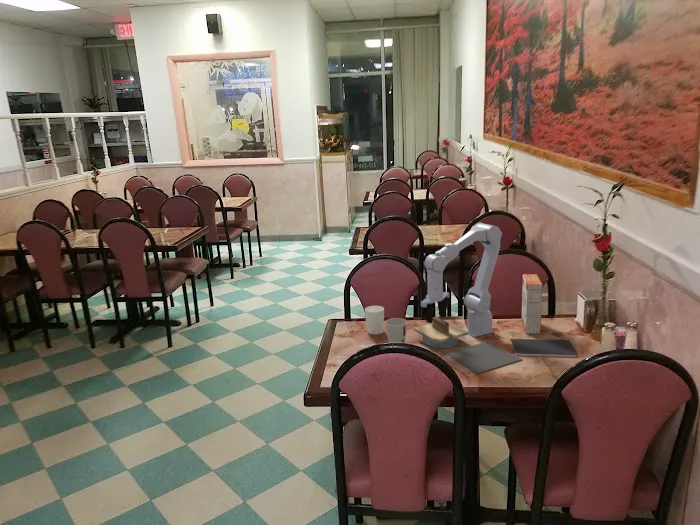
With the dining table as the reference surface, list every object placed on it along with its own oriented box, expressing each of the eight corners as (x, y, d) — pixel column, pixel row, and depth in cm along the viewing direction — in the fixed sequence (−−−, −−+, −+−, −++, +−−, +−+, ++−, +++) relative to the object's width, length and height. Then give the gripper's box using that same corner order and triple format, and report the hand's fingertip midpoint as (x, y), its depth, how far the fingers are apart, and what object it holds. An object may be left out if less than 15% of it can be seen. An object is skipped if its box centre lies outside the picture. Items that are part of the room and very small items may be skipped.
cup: (406, 350, 190) (405, 326, 188) (384, 350, 192) (384, 325, 189) (408, 342, 198) (407, 318, 195) (387, 341, 200) (386, 317, 197)
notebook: (568, 343, 191) (510, 342, 194) (569, 339, 190) (510, 338, 194) (577, 358, 178) (515, 356, 182) (578, 354, 178) (515, 352, 182)
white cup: (388, 329, 211) (387, 307, 208) (378, 336, 204) (378, 313, 202) (371, 326, 215) (371, 304, 212) (362, 333, 209) (361, 310, 206)
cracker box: (520, 321, 213) (522, 273, 207) (535, 321, 212) (537, 273, 206) (524, 334, 200) (526, 283, 194) (540, 334, 198) (543, 284, 193)
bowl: (444, 331, 206) (444, 323, 205) (464, 342, 195) (464, 334, 194) (417, 338, 201) (416, 330, 200) (436, 350, 189) (436, 341, 188)
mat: (487, 342, 194) (487, 341, 194) (522, 360, 178) (522, 359, 178) (445, 354, 185) (445, 353, 185) (477, 374, 170) (477, 373, 170)
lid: (444, 322, 206) (444, 310, 205) (468, 334, 193) (468, 322, 192) (413, 330, 200) (413, 318, 199) (436, 343, 187) (436, 330, 186)
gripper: (438, 279, 198) (439, 312, 201) (414, 288, 189) (415, 322, 192) (453, 282, 193) (453, 316, 196) (429, 292, 184) (429, 327, 187)
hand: (435, 319), depth 194 cm, fingers open, 7 cm apart
